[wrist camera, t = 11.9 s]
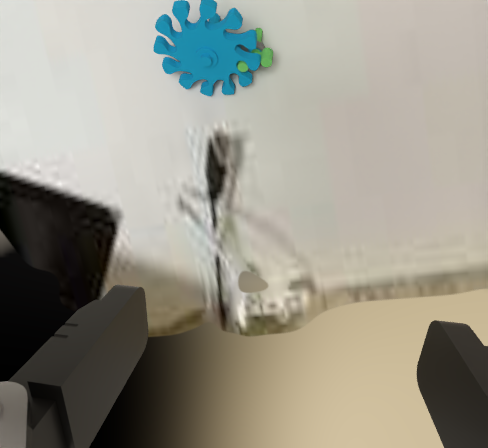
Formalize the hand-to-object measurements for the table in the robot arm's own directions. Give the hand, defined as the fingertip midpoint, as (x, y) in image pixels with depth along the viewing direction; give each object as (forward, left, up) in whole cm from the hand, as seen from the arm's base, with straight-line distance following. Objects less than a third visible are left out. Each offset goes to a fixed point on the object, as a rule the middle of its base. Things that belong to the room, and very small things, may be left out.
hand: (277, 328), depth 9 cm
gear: (+8, -9, -30) cm, 33 cm away
